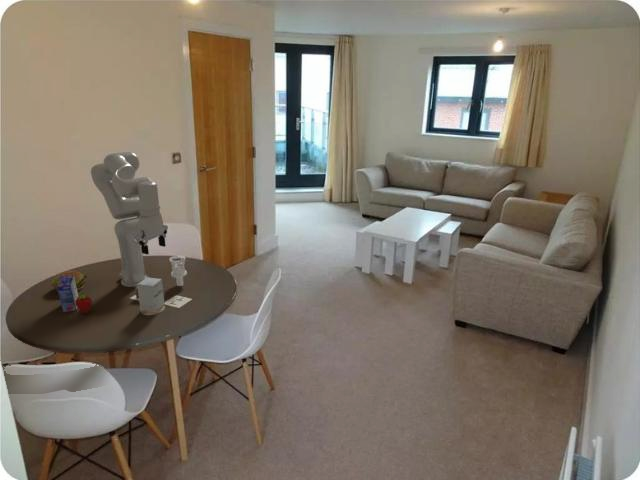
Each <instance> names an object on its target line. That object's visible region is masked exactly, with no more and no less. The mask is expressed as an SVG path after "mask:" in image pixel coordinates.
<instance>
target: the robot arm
mask: <svg viewBox="0 0 640 480" xmlns="http://www.w3.org/2000/svg"><path fill="white" fill-rule="evenodd" d="M139 168H140V160H139V157H138V156H137V154H136V153H134V152H131V151H126V152H116V153H111V154H108V155H106V156H105V157H104V160H103V162H102V163H97V164H95V165H93V166H92V167H91V169H90V175H91V178H92V181H93V184H94V186H95V187H96V189H98V191H99V192H100V193H101V195H102V196H103V198H104V201H105V203H106V205H107V208H108V210H109V213H110V214H111V216H112V218H113V219H115V220H119V221H118V222H116V223H115V224H114V234H115V236H116V239H117V243H118V247H119V253H120V259H121V266H122V270H121V271H120V273H119V274H118V276H119V277H122V279H121V281H120V284H121V285H122V286H123V287H125V288H127V287H128V288H136V287H137V284H138V283H140V282H141V281H143V280H144V279H146V278H147V277H148V278H150V276H149V275H147V274H146V270H145V263H144V262H145V261H144V256H143V255H147V256H148V255H149V254H150V253H149V245H148V243H149V241H150V240H154V239H155V238H157V239H158V246H159V247H166V237H167V233H168V228H169V226H168V225H167V224H164V221H163V220H164V219H163V217H162V213H161V211H160V209H161V206H160V201H159V191H158V190H159V189H158V184H157V182H154V181H153V180H152V178H150V177H148V176H144V177H135V176H136V172H138V170H139Z"/></svg>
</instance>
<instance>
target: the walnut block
mask: <svg viewBox="0 0 640 480" xmlns="http://www.w3.org/2000/svg"><path fill="white" fill-rule="evenodd" d="M134 290H135V295H136V298H139V295H138V288H137V287H134Z"/></svg>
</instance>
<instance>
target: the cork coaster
mask: <svg viewBox="0 0 640 480" xmlns="http://www.w3.org/2000/svg"><path fill="white" fill-rule="evenodd" d="M165 309H166V305H164V306H162V307H161V308H160V309H159V310H158V311H157V312H156V313H153V312H146V311H141V310H140V309H139V312H140V313H141V314H142V315H144V316H153V315H158V314H160V313H162V312H164V311H165Z"/></svg>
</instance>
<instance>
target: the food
mask: <svg viewBox="0 0 640 480" xmlns="http://www.w3.org/2000/svg"><path fill="white" fill-rule="evenodd" d="M61 275H62V276H63V277H69V276H74V279H75V283H76V288H77V292H78V291H80V290H82V289H83V288H85V285H86V279H87V275H84V274H83V273H82V272H80V271H77V270H66V271H64V272H60V273H59V274H57V276H56V277H55V278H54V280H52V282H51V283H52V288H54V289H56V290H55V291H56V292H58V289H57V286H58V284H59V281H60V276H61Z"/></svg>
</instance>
